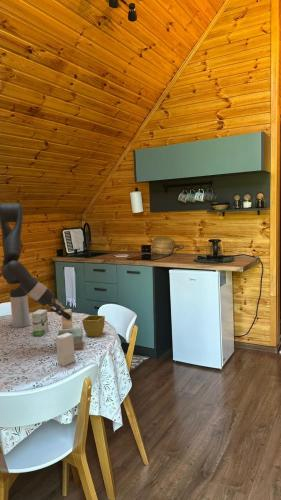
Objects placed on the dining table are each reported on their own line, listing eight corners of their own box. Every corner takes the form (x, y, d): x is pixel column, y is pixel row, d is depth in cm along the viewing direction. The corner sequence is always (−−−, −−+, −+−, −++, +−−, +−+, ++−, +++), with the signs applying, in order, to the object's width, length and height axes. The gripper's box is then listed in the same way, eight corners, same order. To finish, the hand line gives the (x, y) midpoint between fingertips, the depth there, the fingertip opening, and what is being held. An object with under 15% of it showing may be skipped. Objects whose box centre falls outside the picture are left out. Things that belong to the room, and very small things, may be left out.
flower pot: (90, 331, 197) (89, 314, 196) (106, 332, 194) (105, 315, 193) (82, 337, 189) (81, 319, 188) (98, 338, 186) (97, 320, 185)
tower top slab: (59, 337, 182) (59, 330, 182) (82, 335, 183) (82, 328, 183) (57, 345, 171) (56, 338, 171) (82, 343, 172) (81, 335, 172)
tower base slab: (58, 344, 182) (58, 337, 181) (82, 342, 184) (81, 335, 183) (58, 353, 171) (57, 345, 171) (83, 350, 173) (82, 343, 173)
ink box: (41, 336, 194) (40, 313, 192) (33, 336, 195) (31, 313, 193) (49, 330, 202) (47, 309, 201) (40, 330, 203) (38, 308, 202)
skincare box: (68, 359, 162) (66, 331, 161) (75, 361, 160) (73, 333, 158) (57, 364, 158) (54, 336, 156) (64, 366, 155) (61, 338, 153)
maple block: (62, 326, 178) (61, 309, 177) (72, 325, 179) (71, 309, 178) (62, 329, 174) (61, 312, 173) (72, 328, 174) (71, 311, 173)
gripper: (45, 290, 166) (75, 315, 169) (47, 284, 179) (75, 306, 183) (34, 303, 165) (64, 327, 169) (36, 296, 179) (64, 318, 183)
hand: (69, 316), depth 176 cm, fingers closed on maple block, 4 cm apart
